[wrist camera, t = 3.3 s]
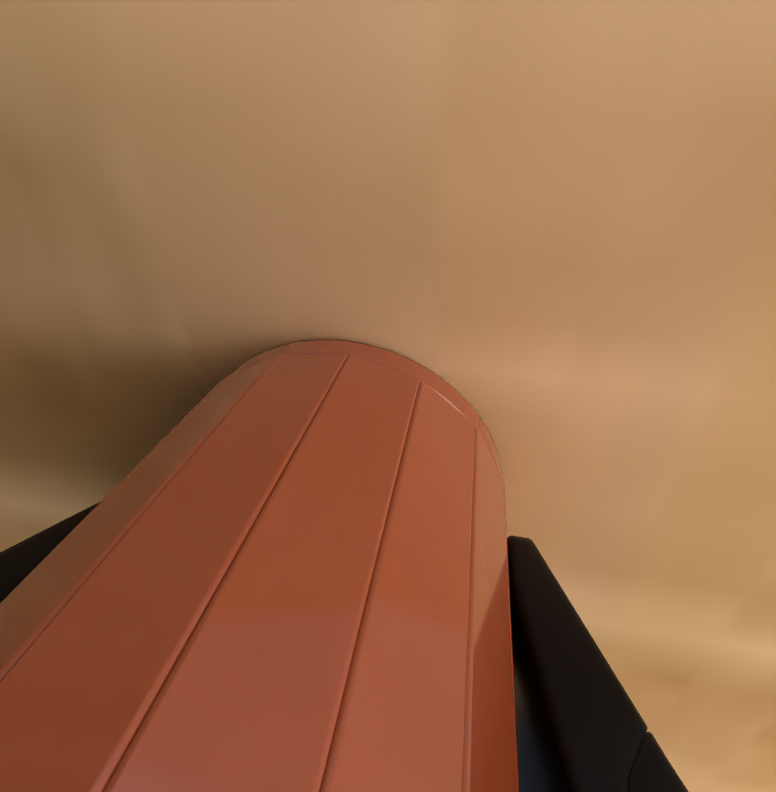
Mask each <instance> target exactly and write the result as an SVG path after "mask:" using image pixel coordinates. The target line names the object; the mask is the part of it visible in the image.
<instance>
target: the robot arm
mask: <svg viewBox="0 0 776 792" xmlns="http://www.w3.org/2000/svg"><path fill="white" fill-rule="evenodd" d="M100 502H101V501H100ZM100 502H98V503H97V504H95V505H93V506H91V507H89V508H87V509H85V510H83V511H81V512H79V513H77V514H75V515H73V516H71V517H69V518H67V519H65V520H63V521H61V522H59V523H57V524H55V525H53V526H51V527H49V528H48V529H46V530H44V531H42V532H40V533H38V534H36V535H34V536H32V537H30V538H28V539H26V540H24V541H22V542H20V543H18V544H16V545H14V546H12V547H10V548H8V549H6V550H4V551H2V552H0V603H1V602H2V601H3V600H4V599H5V598H6V597H7V596H8V595H9V594H10V593H11V592H12V591H13V590H14V589H15V588H16V587H17V586H18V585H19V584H20V583H21V582H22V581H23V580H24V579H25V578H26V577H27V576H28V575H29V574H30V573H31V572H32V571H33V570H34V569H35V568H36V567H37V566H38V565H39V564H40V563H41V562H42V561H43V560H44V559H45V558H46V557H47V556H48V555H49V554H50V553H51V552H52V551H53V550H54V549H55V548H56V547H57V546H58V545H59V544H60V543H61V542H62V541H63V540H64V539H65V538H66V537H67V536H68V535H69V534H70V533H71V531H72V530H73V529H74V528H75V527H76V526H77V525H78V524H79V523H80V522H81V521H82V520H83V519H84V518H85V517H86V516H87V515H88V514H89V513H90V512H91V511H92V510H93V509H94V508H95V507H96V506H97V505H98V504H99V503H100ZM507 547H508V567H509V587H510V607H511V627H512V647H513V668H514V688H515V708H516V728H517V748H518V768H519V788H520V792H688V790H687V789H686V787H685V786H684V784H683V783H682V781H681V780H680V778H679V776H678V775H677V773H676V772H675V770H674V769H673V767H672V766H671V764H670V762H669V761H668V759H667V758H666V756H665V755H664V753H663V751H662V750H661V748H660V746H659V745H658V743H657V741H656V740H655V738H654V736H653V735H652V733H650V732H646V731H647V726H646V724H645V722H644V721H643V719H642V717H641V716H640V714H639V713H638V711H637V709H636V708H635V706H634V705H633V703H632V701H631V700H630V698H629V696H628V695H627V693H626V692H625V690H624V688H623V687H622V685H621V683H620V682H619V680H618V679H617V677H616V675H615V674H614V672H613V671H612V669H611V667H610V666H609V664H608V662H607V661H606V659H605V658H604V656H603V654H602V653H601V651H600V649H599V648H598V646H597V645H596V643H595V641H594V640H593V638H592V637H591V635H590V633H589V632H588V630H587V628H586V627H585V625H584V624H583V622H582V620H581V619H580V617H579V616H578V614H577V612H576V611H575V609H574V607H573V606H572V604H571V603H570V601H569V599H568V598H567V596H566V594H565V593H564V591H563V590H562V588H561V586H560V585H559V583H558V582H557V580H556V578H555V577H554V575H553V573H552V572H551V570H550V569H549V567H548V565H547V564H546V562H545V560H544V559H543V557H542V556H541V554H540V552H539V551H538V549H537V548H536V546H535V544H534V543H533V541H532V540H531V539H529V538H524V537H518V536H509V537H508V538H507Z"/></svg>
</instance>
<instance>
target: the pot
mask: <svg viewBox="0 0 776 792" xmlns="http://www.w3.org/2000/svg"><path fill="white" fill-rule="evenodd" d="M0 792H520V788H519V768H518V748H517V728H516V708H515V688H514V668H513V647H512V627H511V607H510V587H509V567H508V547H507V527H506V507H505V487H504V483H503V478H502V469H501V465H500V460H499V456H498V452H497V449H496V447H495V444H494V442H493V439H492V437H491V435H490V433H489V431H488V430H487V428H486V426H485V425H484V423H483V421H482V419H481V418H480V417H479V415H478V414H477V413H476V412H475V410H474V409H473V408H472V407H471V405H470V404H469V403H468V402H467V401H466V400H465V399H464V398H463V397H462V396H461V395H460V394H459V393H458V392H457V391H456V390H455V389H454V388H453V387H452V386H451V385H449V384H448V383H447V382H445V381H444V380H443V379H441V378H440V377H439V376H437V375H436V374H435V373H433V372H432V371H430V370H428V369H426V368H425V367H423V366H421V365H419V364H418V363H416V362H414V361H412V360H410V359H407V358H405V357H403V356H400V355H398V354H396V353H393V352H391V351H388V350H384V349H381V348H377V347H374V346H371V345H366V344H360V343H354V342H349V341H335V340H315V341H303V342H297V343H292V344H287V345H283V346H279V347H276V348H274V349H271V350H268V351H266V352H263V353H261V354H259V355H257V356H255V357H253V358H252V359H250V360H248V361H246V362H245V363H243V364H242V365H241V366H240V367H238V368H237V369H236V370H235V371H233V372H232V373H231V374H230V375H229V376H228V377H226V378H224V379H223V380H222V381H220V382H219V383H218V384H217V385H216V386H215V387H214V388H213V389H212V390H211V391H210V392H209V393H208V394H207V395H206V396H205V397H204V398H203V399H202V400H201V401H200V402H199V403H198V404H197V405H196V406H195V407H194V408H193V409H192V410H191V411H190V412H189V413H188V414H187V415H186V416H185V417H184V418H183V419H182V420H181V421H180V422H179V423H178V424H177V425H176V426H175V427H174V428H173V429H172V430H171V431H170V432H169V433H168V434H167V435H166V436H165V437H164V438H163V439H162V440H161V441H160V442H159V443H158V444H157V445H156V446H155V447H154V448H153V450H152V451H151V452H150V453H149V454H148V455H147V456H146V457H145V458H144V459H143V460H142V461H141V462H140V463H139V464H138V465H137V466H136V467H135V468H134V469H133V470H132V471H131V472H130V473H129V474H128V475H127V476H126V477H125V478H124V479H123V480H122V481H121V482H120V483H119V484H118V485H117V486H116V487H115V488H114V489H113V490H112V491H111V492H110V493H109V494H108V495H107V496H106V497H105V498H104V499H103V500H102V501H101V502H100V503H99V504H98V505H97V506H96V507H95V508H94V509H93V510H92V511H91V512H90V513H89V514H88V515H87V516H86V517H85V518H84V519H83V520H82V521H81V522H80V523H79V524H78V525H77V526H76V527H75V528H74V529H73V530H72V531H71V533H70V534H69V535H68V536H67V537H66V538H65V539H64V540H63V541H62V542H61V543H60V544H59V545H58V546H57V547H56V548H55V549H54V550H53V551H52V552H51V553H50V554H49V555H48V556H47V557H46V558H45V559H44V560H43V561H42V562H41V563H40V564H39V565H38V566H37V567H36V568H35V569H34V570H33V571H32V572H31V573H30V574H29V575H28V576H27V577H26V578H25V579H24V580H23V581H22V582H21V583H20V584H19V585H18V586H17V587H16V588H15V589H14V590H13V591H12V592H11V593H10V594H9V595H8V596H7V597H6V598H5V599H4V600H3V601H2V602H1V603H0Z"/></svg>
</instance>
